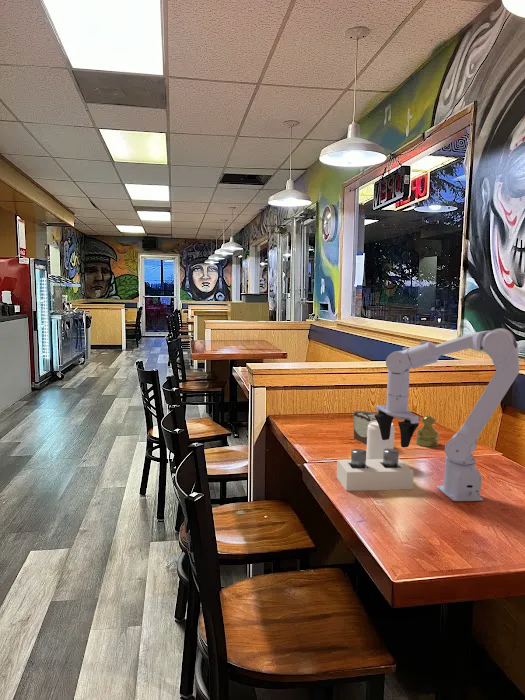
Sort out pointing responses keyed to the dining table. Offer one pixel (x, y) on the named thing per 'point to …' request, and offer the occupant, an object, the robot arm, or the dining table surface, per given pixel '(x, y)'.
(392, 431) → the beverage can
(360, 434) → the food container
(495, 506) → the dining table surface
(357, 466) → the peg
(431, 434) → the olive green tiered piece
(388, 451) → the peg
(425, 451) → the dining table surface
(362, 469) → the bore block
